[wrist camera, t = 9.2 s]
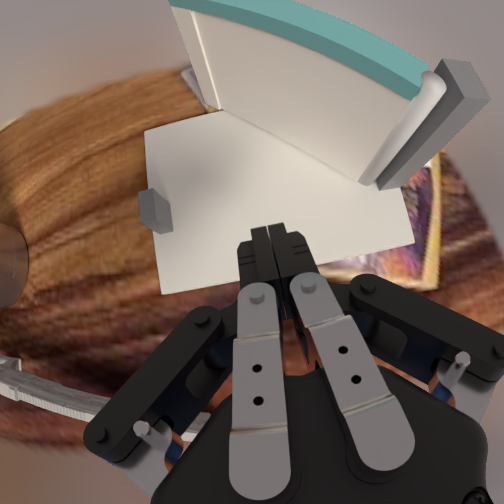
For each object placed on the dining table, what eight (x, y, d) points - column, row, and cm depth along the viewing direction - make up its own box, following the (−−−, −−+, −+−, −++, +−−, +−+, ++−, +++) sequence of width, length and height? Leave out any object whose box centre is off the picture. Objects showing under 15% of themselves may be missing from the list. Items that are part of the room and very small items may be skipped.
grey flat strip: (-23, 340, 25) (-64, 347, 17) (220, 397, 28) (222, 431, 20) (-22, 356, 24) (-62, 365, 17) (219, 415, 27) (220, 452, 20)
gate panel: (205, 103, 26) (165, -8, 13) (218, 88, 26) (187, -23, 13) (367, 191, 24) (441, 102, 11) (377, 173, 24) (450, 79, 11)
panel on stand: (165, 294, 25) (46, 288, 10) (147, 136, 27) (69, 32, 13) (410, 244, 24) (529, 191, 10) (360, 96, 27) (404, -22, 12)
